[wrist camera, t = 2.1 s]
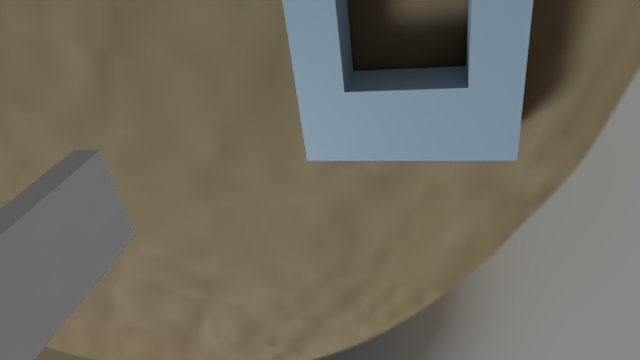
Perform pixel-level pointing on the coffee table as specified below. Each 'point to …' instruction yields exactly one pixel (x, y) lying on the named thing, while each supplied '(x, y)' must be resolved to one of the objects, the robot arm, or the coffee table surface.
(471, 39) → the bore block
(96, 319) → the coffee table surface
